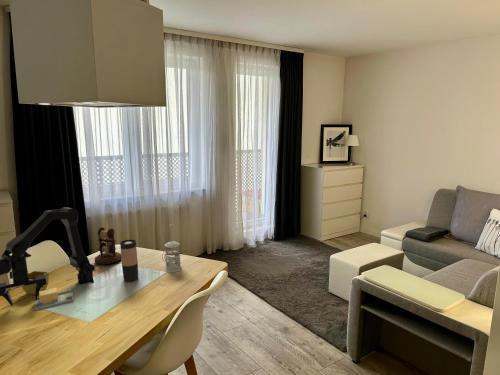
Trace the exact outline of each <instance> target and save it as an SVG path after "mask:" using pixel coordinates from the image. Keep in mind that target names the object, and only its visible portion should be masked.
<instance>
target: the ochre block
mask: <svg viewBox="0 0 500 375" xmlns="http://www.w3.org/2000/svg"><path fill="white" fill-rule="evenodd" d="M58 293H59V291H58V287H54V288H50V289H45V290H44V291H39V294H38V297H39V298H40V303H43V304H44V303H49V302H52V300H58Z"/></svg>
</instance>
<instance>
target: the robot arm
mask: <svg viewBox="0 0 500 375" xmlns="http://www.w3.org/2000/svg"><path fill="white" fill-rule="evenodd" d="M78 215H79V213H78V210H77V209H75V208H72V207H65V206H63V207H61V208H59V209H57V208H56V209H50V210H49V209H46V210H45V211H43V213H42V214H41V215H40V216H39V217H38V218H37V219H36V220H35V221H34V222H33V223H32V224H31V225H30V226H29V227H27V229H26V230H25V231H23V233H21V234H19V235H17V236H15V237H14V238H12V239H11V240H9V241H8V242H7V243H6V245H5V250H4V251H3V253H2V255H1V256H0V257H1V258H0V276H3V275H7V274H9V279H10V280H12V283H10V284H8V283H7V281H6V282H1V283H0V297H3V299H5V300H6V301H7V302H8V303H9V305H10V306H11V307H12V306H13V300H12V296H11V293H10V290H11V289H16V288H22V286H27V285H31V284H36V288H35V295H34V296H35V297H34V301H35V300H37V297H39V294H38V293H39V291H40V288H41V287H43V285H46V284H47V278H46V275H41V276H36V279H34V280H29V273H30V272H29V270H28V263H27V258H31V257H32V254H31V253H28V252H27V250H28V249H29V248H30V246H31V243H32V241H34V239H35V238H36V237H37V236H38V235H39V234H40V233H41V232H42V231H44V229H45V228H46V227H47V226H48V225H49V224H50V223H51V222H52V221H53V220H60V221H61V222H62V224H63V225H64V226H65V229H66V234H67V238H68V241H69V244H70V245H69V246H70V248H71V249H70V250H71V253H72V254H71V256H70V257H68V261H69V265H70V266H72V268H73V269H75V270H76V271H77V272H78V273H77V274H76V275H77V283H78V284H79V285H86V284H90V283H91V284H93V283H95V280H94V274H93V272H94V271H95V268H96V266H95V265H93V263H90V260H89V258H88V256H87V255H86V253H85V252H84V250H83V245H82V241H81V237H80V233H79V229H78V226H77V225H78V221H79V216H78Z"/></svg>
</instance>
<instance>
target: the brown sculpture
mask: <svg viewBox="0 0 500 375" xmlns="http://www.w3.org/2000/svg"><path fill="white" fill-rule="evenodd" d="M97 235H98V239H97V241H98V242H99V244H98V246H99V247H98V250H99V254H97V256H95V257H94V262H95V264H99V265H100V264H101V265H105V264H108V266H110V265H111V264H112V263H115V262H119V261H120V260H121V252H116V240H115V230H114V228H109V229H108V230H106V228H105V227H100V228H98V230H97Z"/></svg>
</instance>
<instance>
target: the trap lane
mask: <svg viewBox="0 0 500 375" xmlns="http://www.w3.org/2000/svg"><path fill="white" fill-rule="evenodd" d="M74 301H75V299H74V294H73V289H69V290H64V291H61V292H59V291H58V300H52V302H49V303H44V304H43V303H40V298H39V296H38V297H37V300H35V299H34V311H39V310H44V309H45V310H46V309H48V308H53V307H56V306H57V307H58V306H60V305H64V304H70V303H74Z"/></svg>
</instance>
